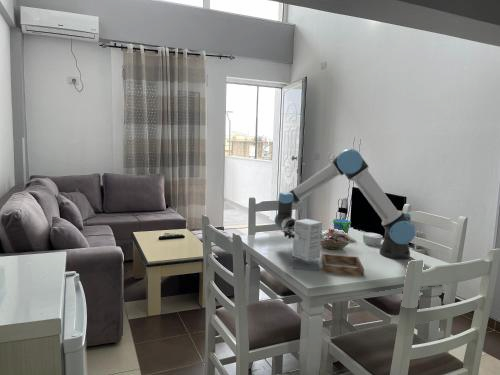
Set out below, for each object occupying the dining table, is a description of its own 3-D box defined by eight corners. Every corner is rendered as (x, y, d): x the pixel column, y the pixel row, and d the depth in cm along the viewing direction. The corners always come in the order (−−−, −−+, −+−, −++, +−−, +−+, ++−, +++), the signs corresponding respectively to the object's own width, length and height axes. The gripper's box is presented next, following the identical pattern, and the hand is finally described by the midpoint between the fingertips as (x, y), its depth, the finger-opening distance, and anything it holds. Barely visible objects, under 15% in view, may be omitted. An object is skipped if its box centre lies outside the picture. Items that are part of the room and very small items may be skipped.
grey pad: (317, 262, 181) (317, 260, 181) (319, 271, 169) (319, 269, 169) (292, 260, 182) (292, 258, 182) (292, 268, 170) (292, 266, 170)
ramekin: (379, 247, 214) (380, 238, 213) (359, 244, 219) (360, 235, 218) (383, 243, 223) (384, 234, 223) (364, 239, 229) (365, 231, 228)
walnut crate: (357, 263, 182) (357, 256, 182) (363, 276, 165) (363, 268, 165) (321, 260, 184) (322, 253, 184) (323, 272, 167) (324, 265, 167)
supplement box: (320, 257, 175) (323, 222, 173) (308, 261, 169) (311, 224, 166) (303, 252, 182) (306, 218, 180) (291, 255, 175) (294, 220, 173)
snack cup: (351, 240, 225) (353, 224, 224) (333, 239, 226) (335, 222, 224) (346, 234, 240) (348, 218, 239) (330, 233, 241) (331, 217, 240)
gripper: (312, 233, 195) (333, 245, 175) (268, 234, 188) (285, 246, 167) (313, 218, 194) (335, 229, 174) (269, 219, 187) (286, 230, 166)
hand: (311, 237), depth 170 cm, fingers closed on supplement box, 12 cm apart
